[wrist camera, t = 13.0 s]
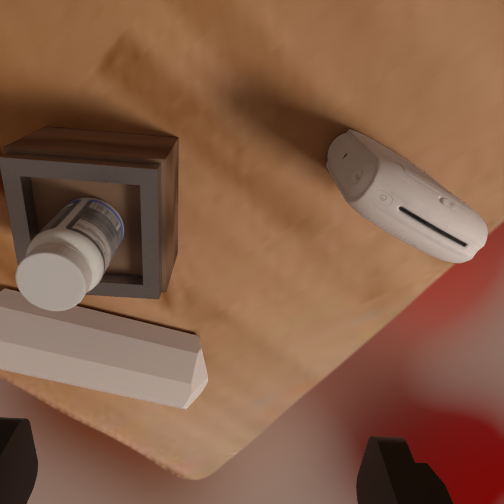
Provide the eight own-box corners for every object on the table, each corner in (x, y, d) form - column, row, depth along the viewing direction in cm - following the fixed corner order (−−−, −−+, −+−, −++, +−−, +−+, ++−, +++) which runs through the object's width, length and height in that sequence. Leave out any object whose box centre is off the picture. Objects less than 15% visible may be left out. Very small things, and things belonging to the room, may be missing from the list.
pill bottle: (69, 254, 34) (19, 319, 26) (54, 197, 31) (-5, 249, 24) (130, 252, 34) (98, 315, 26) (120, 194, 31) (81, 245, 24)
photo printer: (315, 163, 38) (345, 218, 27) (343, 119, 36) (388, 159, 25) (407, 217, 40) (469, 287, 29) (438, 178, 39) (515, 236, 28)
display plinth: (45, 126, 36) (-8, 152, 28) (178, 137, 37) (161, 165, 29) (60, 245, 41) (19, 293, 33) (177, 253, 42) (163, 302, 34)
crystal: (222, 347, 42) (-38, 284, 38) (203, 420, 42) (-63, 363, 38) (215, 335, 50) (-4, 281, 46) (199, 397, 49) (-25, 347, 45)
